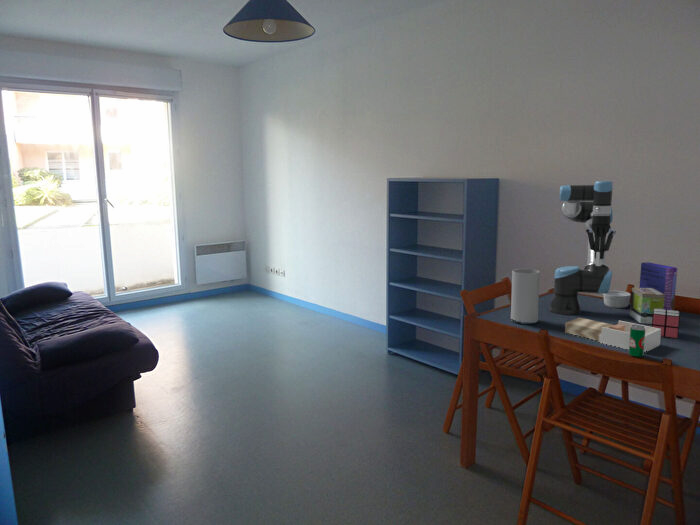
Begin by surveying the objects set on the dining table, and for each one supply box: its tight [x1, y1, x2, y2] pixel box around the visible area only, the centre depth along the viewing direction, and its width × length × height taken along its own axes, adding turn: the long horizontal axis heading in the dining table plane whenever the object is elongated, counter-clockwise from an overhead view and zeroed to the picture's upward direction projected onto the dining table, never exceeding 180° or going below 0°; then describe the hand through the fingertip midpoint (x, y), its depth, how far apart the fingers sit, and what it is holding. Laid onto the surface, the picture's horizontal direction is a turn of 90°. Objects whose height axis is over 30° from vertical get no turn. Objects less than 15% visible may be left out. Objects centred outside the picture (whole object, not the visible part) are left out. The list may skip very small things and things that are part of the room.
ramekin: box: [602, 290, 631, 309], centre depth 271 cm, size 13×13×7 cm
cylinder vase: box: [510, 268, 541, 323], centre depth 245 cm, size 12×12×25 cm
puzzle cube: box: [651, 309, 681, 339], centre depth 222 cm, size 10×10×10 cm
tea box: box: [629, 287, 665, 325], centre depth 243 cm, size 15×10×15 cm
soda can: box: [628, 324, 645, 358], centre depth 196 cm, size 5×5×12 cm
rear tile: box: [611, 323, 625, 332], centre depth 214 cm, size 6×6×3 cm
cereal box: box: [638, 262, 678, 311], centre depth 258 cm, size 17×5×24 cm, turn 14°
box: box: [598, 320, 662, 353], centre depth 210 cm, size 18×16×7 cm
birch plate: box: [564, 317, 615, 342], centre depth 224 cm, size 16×12×5 cm
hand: (598, 265), depth 234 cm, fingers closed
